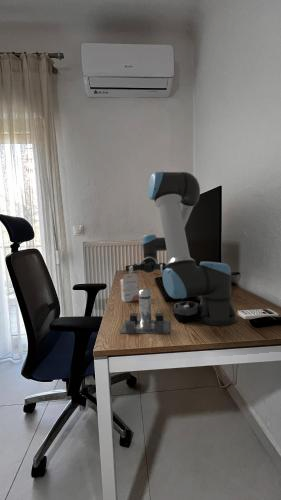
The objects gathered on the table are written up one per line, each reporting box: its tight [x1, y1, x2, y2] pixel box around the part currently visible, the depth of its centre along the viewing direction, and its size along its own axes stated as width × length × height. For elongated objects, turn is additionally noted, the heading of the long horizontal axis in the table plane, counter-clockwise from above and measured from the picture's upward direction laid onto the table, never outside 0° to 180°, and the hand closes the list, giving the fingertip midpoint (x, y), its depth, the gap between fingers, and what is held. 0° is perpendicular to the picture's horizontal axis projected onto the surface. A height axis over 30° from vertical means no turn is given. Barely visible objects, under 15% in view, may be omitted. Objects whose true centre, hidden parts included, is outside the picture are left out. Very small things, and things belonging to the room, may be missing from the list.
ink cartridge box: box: [120, 272, 139, 303], centre depth 132 cm, size 9×5×15 cm, turn 112°
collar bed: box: [119, 312, 171, 335], centre depth 93 cm, size 18×12×3 cm, turn 84°
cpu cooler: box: [172, 300, 200, 324], centre depth 100 cm, size 10×6×10 cm
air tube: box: [138, 288, 152, 328], centre depth 93 cm, size 4×4×14 cm
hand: (145, 269), depth 105 cm, fingers open, 13 cm apart
